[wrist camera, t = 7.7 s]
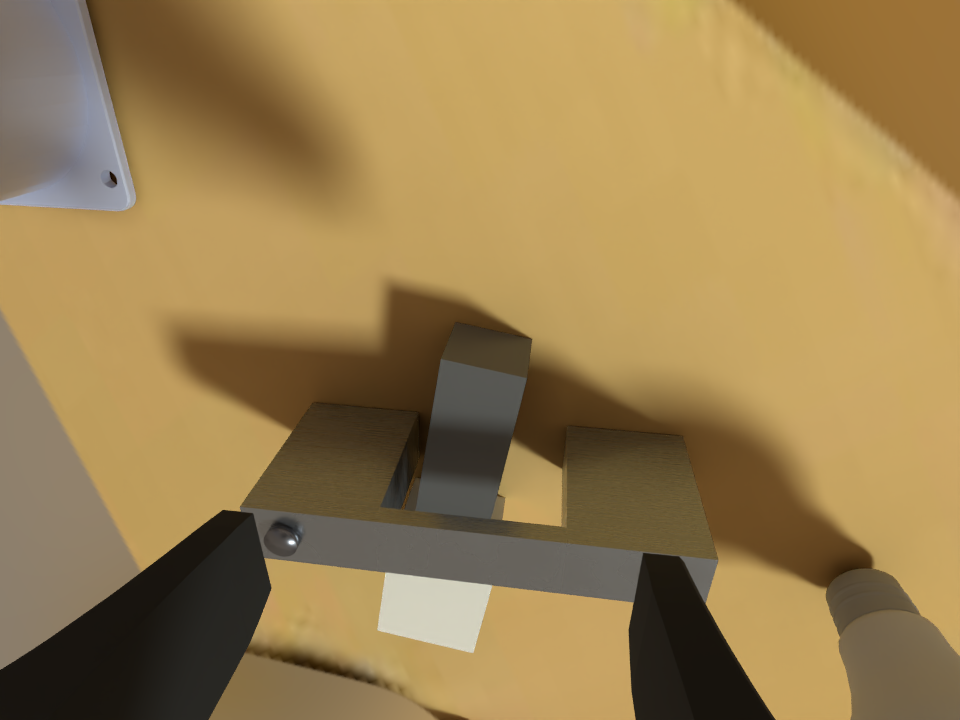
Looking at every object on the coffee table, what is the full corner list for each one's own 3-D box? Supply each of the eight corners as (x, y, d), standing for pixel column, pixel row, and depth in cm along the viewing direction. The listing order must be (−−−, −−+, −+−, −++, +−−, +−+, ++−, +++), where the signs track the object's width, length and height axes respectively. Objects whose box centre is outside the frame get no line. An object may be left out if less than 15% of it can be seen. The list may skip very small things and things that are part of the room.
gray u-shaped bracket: (312, 402, 22) (234, 514, 17) (682, 436, 21) (720, 569, 15) (318, 445, 23) (246, 563, 18) (672, 480, 22) (705, 619, 16)
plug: (441, 318, 20) (413, 379, 16) (546, 342, 20) (541, 408, 16) (404, 548, 25) (377, 630, 22) (486, 567, 25) (473, 653, 22)
